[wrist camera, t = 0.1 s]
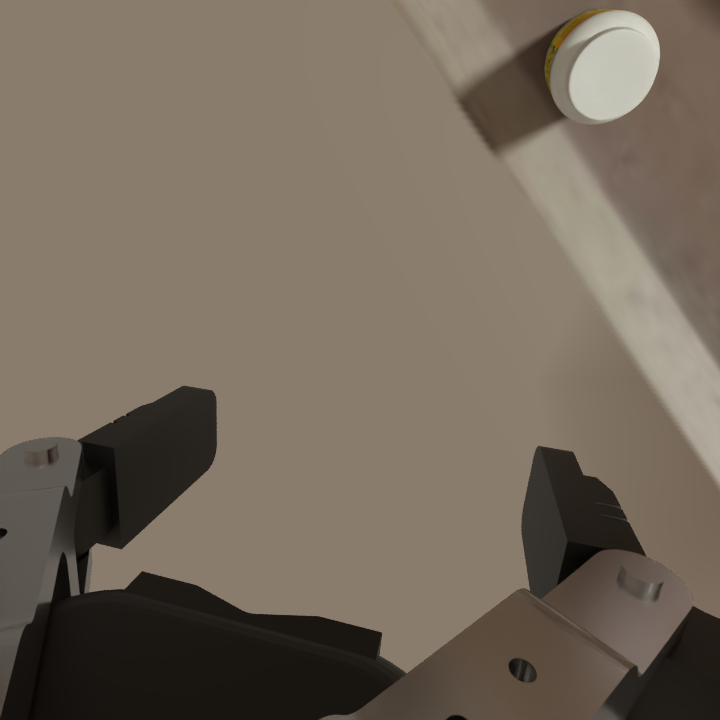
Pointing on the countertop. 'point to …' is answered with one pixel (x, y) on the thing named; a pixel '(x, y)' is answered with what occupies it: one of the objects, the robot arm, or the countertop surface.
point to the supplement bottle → (601, 65)
